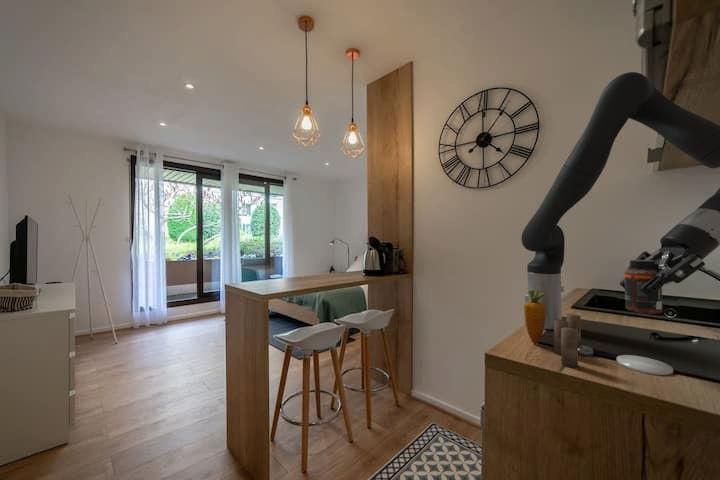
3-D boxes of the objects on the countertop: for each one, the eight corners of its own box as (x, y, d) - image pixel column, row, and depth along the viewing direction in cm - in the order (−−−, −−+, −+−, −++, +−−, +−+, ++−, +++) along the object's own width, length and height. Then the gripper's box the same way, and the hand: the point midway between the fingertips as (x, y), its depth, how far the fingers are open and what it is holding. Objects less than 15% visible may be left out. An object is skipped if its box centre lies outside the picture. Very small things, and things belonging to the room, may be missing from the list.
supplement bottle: (670, 315, 61) (669, 261, 61) (637, 314, 63) (636, 261, 63) (649, 308, 67) (648, 259, 67) (618, 307, 69) (617, 259, 69)
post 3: (558, 363, 67) (558, 328, 67) (567, 361, 68) (566, 326, 68) (572, 369, 64) (571, 332, 64) (581, 366, 65) (580, 330, 65)
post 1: (551, 352, 73) (551, 320, 73) (559, 350, 75) (558, 318, 75) (563, 356, 71) (563, 323, 71) (571, 354, 72) (571, 321, 72)
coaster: (607, 361, 67) (607, 359, 67) (629, 355, 71) (629, 352, 71) (659, 378, 59) (659, 375, 59) (682, 370, 63) (682, 367, 63)
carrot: (536, 340, 82) (535, 286, 82) (550, 347, 77) (549, 289, 77) (520, 341, 81) (519, 287, 81) (533, 348, 76) (532, 290, 76)
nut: (595, 352, 72) (595, 347, 72) (590, 358, 70) (589, 353, 70) (576, 348, 76) (575, 343, 76) (570, 353, 73) (570, 349, 73)
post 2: (564, 344, 78) (563, 314, 78) (571, 343, 80) (570, 313, 80) (576, 348, 76) (575, 317, 76) (583, 346, 77) (583, 316, 77)
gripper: (655, 224, 71) (600, 273, 73) (714, 220, 56) (643, 282, 59) (682, 246, 70) (625, 295, 72) (749, 248, 55) (675, 309, 58)
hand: (633, 289), depth 65 cm, fingers closed on supplement bottle, 6 cm apart
